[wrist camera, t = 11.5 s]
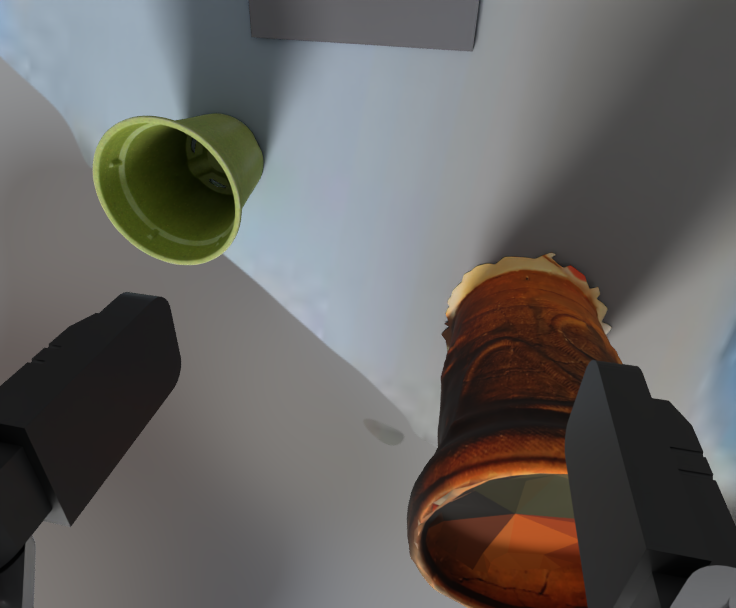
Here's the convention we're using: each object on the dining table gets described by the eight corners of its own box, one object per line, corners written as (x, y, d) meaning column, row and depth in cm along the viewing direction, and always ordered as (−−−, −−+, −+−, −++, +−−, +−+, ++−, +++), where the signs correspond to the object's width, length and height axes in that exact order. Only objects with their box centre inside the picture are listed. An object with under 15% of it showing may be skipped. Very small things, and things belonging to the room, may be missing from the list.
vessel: (673, 314, 39) (794, 578, 22) (541, 418, 47) (561, 665, 31) (514, 210, 37) (522, 415, 21) (406, 336, 45) (352, 555, 29)
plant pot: (173, 65, 36) (94, 89, 29) (300, 118, 36) (253, 156, 29) (159, 185, 41) (89, 231, 34) (270, 231, 42) (224, 286, 34)
